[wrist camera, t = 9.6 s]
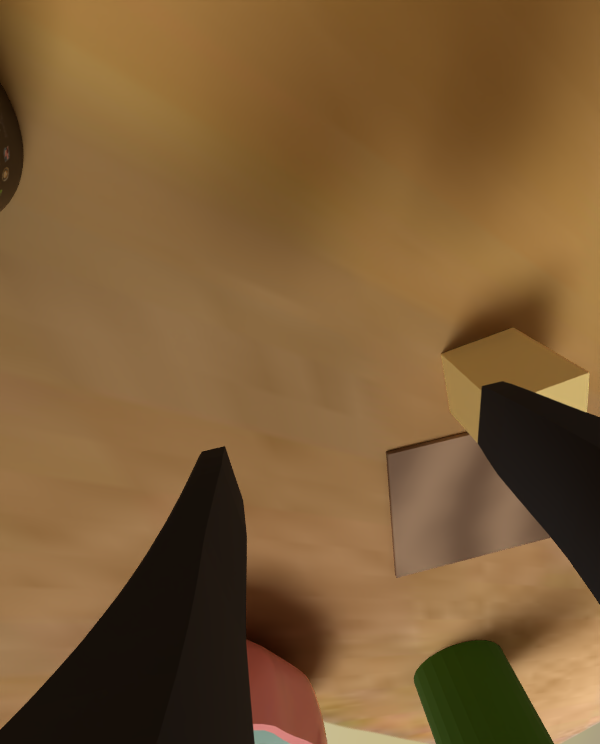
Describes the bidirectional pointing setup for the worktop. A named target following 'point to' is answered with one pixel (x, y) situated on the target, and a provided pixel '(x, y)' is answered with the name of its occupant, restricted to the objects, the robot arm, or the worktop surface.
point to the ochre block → (509, 374)
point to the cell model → (282, 701)
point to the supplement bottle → (9, 150)
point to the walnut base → (451, 506)
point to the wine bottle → (476, 698)
